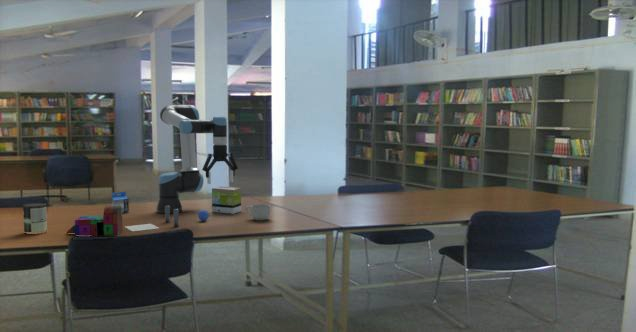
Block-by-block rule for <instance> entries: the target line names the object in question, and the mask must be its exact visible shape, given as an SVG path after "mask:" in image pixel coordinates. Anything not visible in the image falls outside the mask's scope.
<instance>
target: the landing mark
mask: <svg viewBox="0 0 636 332" xmlns="http://www.w3.org/2000/svg"><path fill="white" fill-rule="evenodd" d="M124 229H126V230H129V231H131V232H138V231H139V232H141V231H149V230H150V231H151V230H158V229H160V227H158V226H156V225H154V224H153V223H145V224H136V225H126V226H124Z"/></svg>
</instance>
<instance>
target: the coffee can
mask: <svg viewBox="0 0 636 332" xmlns="http://www.w3.org/2000/svg"><path fill="white" fill-rule="evenodd" d="M22 211H23V214H22V215H23V230H24V232H42V231H46V230H47V231H48V227H47V226H48V221H47V219H48V217H47V203H45V202H33V203H31V202H30V203H25V204H22Z"/></svg>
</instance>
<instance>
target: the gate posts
mask: <svg viewBox="0 0 636 332" xmlns="http://www.w3.org/2000/svg"><path fill="white" fill-rule="evenodd" d="M179 213H180V212H179V211H178V209H173V213H172V214H173V217H172V218H173V227H174V228H178V227H180V221H179V220H180V219H179V218H180V217H179V216H180V215H179ZM170 222H171V213H170V206H165V213H164V224H167V223H169V224H170Z"/></svg>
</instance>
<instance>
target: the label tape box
mask: <svg viewBox="0 0 636 332" xmlns="http://www.w3.org/2000/svg"><path fill="white" fill-rule="evenodd" d="M129 202H130V201H129V198H128V197H127V191H121V192H120V191H119V192H118V191H117V192H111V205H120V206H121V209H122V214H124V213H129V212H130V206H129V205H130V203H129Z"/></svg>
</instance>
